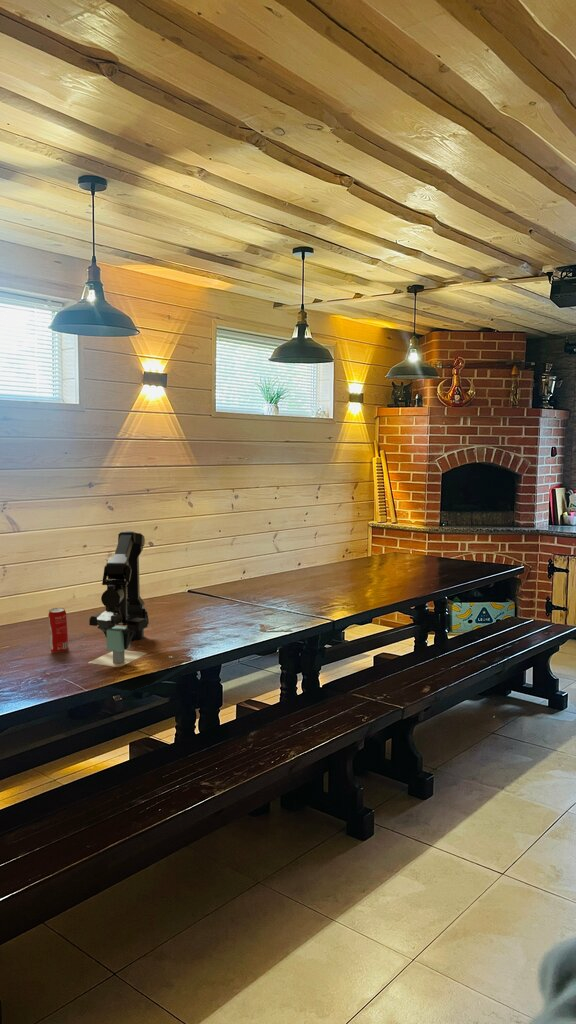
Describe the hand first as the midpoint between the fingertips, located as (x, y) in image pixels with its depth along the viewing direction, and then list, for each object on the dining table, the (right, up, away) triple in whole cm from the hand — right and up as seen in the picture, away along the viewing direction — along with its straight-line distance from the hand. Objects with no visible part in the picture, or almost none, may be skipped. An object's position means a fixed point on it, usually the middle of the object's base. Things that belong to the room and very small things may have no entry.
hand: (118, 648), depth 229 cm
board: (-1, -5, +5) cm, 8 cm away
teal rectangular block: (0, 0, 0) cm, 0 cm away
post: (0, -5, 0) cm, 5 cm away
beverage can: (-24, -4, +14) cm, 28 cm away
